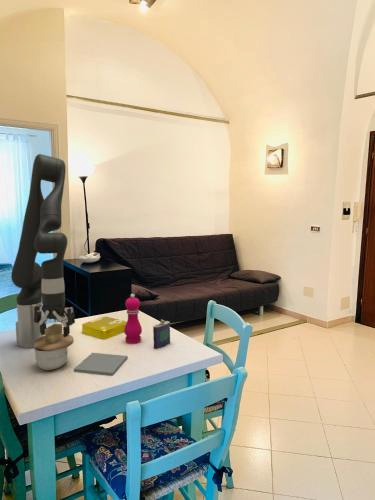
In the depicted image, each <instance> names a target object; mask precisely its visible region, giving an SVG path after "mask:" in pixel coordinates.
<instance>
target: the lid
mask: <svg viewBox="0 0 375 500" xmlns="http://www.w3.org/2000/svg"><path fill="white" fill-rule="evenodd" d="M73 343H74V337H73V336H72V335H70V334H69V335H68V336H67V337H64V336H63V324H62V323H52V324H51V325H50V326H48V327H46V329H45V335H43V337H40V338H38V339H37V340H35V342H34V347H35V348H36V349H39V350H58V349H62V348H66V347H68V348H69V347H70V346H72V345H73ZM34 347H33V348H34Z"/></svg>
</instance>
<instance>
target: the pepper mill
mask: <svg viewBox="0 0 375 500" xmlns="http://www.w3.org/2000/svg"><path fill="white" fill-rule="evenodd" d="M124 303H125V308H126V314H127V321H126V322H127V323H126V326H125V329H124V332H123V334H124V335H126V336H125V342H126V343H127V344H130V345H131V344H132V345H133V344H138V343H140V342H141V341H142V337H141V335H142V332H143V329H142V325H141V323H140V319H139V313H140V309H139V308H140V306H141V301H140V300H139V298H137V297H135V294H134V293H131V294H130V297H128V298H127V299H126V300H125V302H124Z"/></svg>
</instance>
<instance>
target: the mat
mask: <svg viewBox="0 0 375 500" xmlns="http://www.w3.org/2000/svg"><path fill="white" fill-rule="evenodd" d="M128 359H129V357H128V355H121V354H111V353H110V354H109V353H101V352H100V353H99V352H91V353H90V354H89V355H88V356H86V357H85V358H84V359H83V360H82V361H81V362H80V363H79V364H77V365H76V366H75V367H74V368H73V372H74V373H83V374H90V375H91V374H92V375H103V376H111V377H113V376H114V375H115V373H117V371H118V370H119V369H120V368H121V367H122V366H123V364H124V363H125V362H126V361H127V360H128Z"/></svg>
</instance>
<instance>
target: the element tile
mask: <svg viewBox="0 0 375 500" xmlns="http://www.w3.org/2000/svg"><path fill="white" fill-rule="evenodd" d="M126 323H127V321H125V320H123V319H118V318H114V317H109V316H102V317H98V318H96V319H93V320H90V321H87V322H85V323H82V325H81V327H82V328H81V333H82V334H83V335H86V336H90V337H92V338H96V339H100V340H107V339H111V338H113V337H114V336H115V337H116V336H118V335H121V334H122V333H123V334H124V329H125V326H126Z"/></svg>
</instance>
